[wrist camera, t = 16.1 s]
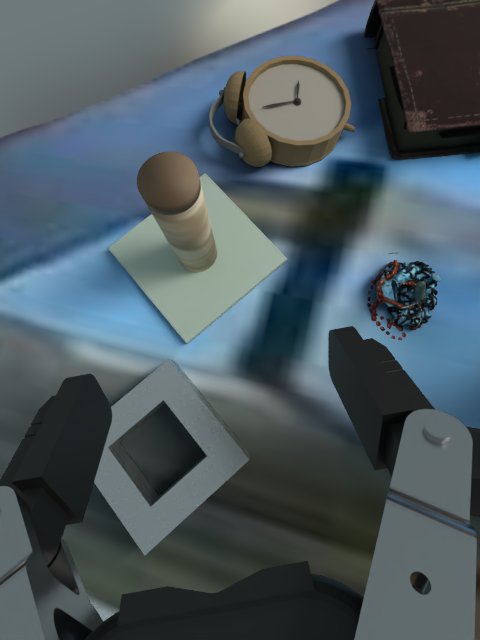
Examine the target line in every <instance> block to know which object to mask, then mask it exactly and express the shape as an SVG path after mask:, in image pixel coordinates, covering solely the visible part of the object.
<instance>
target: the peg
mask: <svg viewBox="0 0 480 640" xmlns="http://www.w3.org/2000/svg"><path fill="white" fill-rule="evenodd" d="M137 186H138V189H139V192H140V194H141V195H142V197H143V199H144V201H145V202H146V204H147V206H148V208H149V209H150V211H151V213H152V215H153V216H154V218H155V220H156V222H157V223H158V225H159V227H160V229H161V230H162V232H163V234H164V236H165V237H166V239H167V241H168V243H169V244H170V246H171V248H172V250H173V251H174V253H175V255H176V257H177V258H178V260H179V262H180V264H181V265H182V266H183V267H184V268H185V269H186V270H188V271H191V272H203V271H205V270H207V269H209V268H210V267H211V266H212V265H213V264H214V262H215V260H216V258H217V249H216V244H215V240H214V236H213V232H212V228H211V224H210V220H209V216H208V211H207V207H206V203H205V199H204V195H203V191H202V187H201V183H200V178H199V174H198V170H197V168H196V166H195V164H194V163H193V161H192V160H191V159H189V158H188V157H187V156H185V155H183V154H180V153H177V152H162V153H159V154H156V155H154V156H152V157H151V158H149V159H148V160H147V161H146V162H145V163H144V164H143V165H142V167H141V168H140V170H139V173H138V176H137Z"/></svg>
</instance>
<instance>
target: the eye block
mask: <svg viewBox="0 0 480 640" xmlns="http://www.w3.org/2000/svg"><path fill="white" fill-rule="evenodd" d="M165 403H166V404H167V405H168V406H169V408H170V409H171V410H172V412H173V413H174V414H175V415H176V417H177V418H178V419H179V421H180V422H181V423H182V424H183V426H184V427H185V428H186V429H187V431H188V432H189V433H190V435H191V436H192V437H193V438H194V440H195V441H196V442H197V444H198V445H199V446H200V447H201V449H202V450H203V451H204V453H205V454H206V455H205V456H204V457H203V458H201V459H200V460H199V461H198V462H197V463H196V464H195V465H194V466H193V467H191V468H190V469H189V470H188V471H187V472H186V473H185V474H184V475H182V476H181V477H180V478H179V479H178V480H177V481H176V482H175V483H174V484H172V485H171V486H170V487H169V488H168V489H167V490H166V491H165V492H163V493H162V494H161V495H160V496H158V494H157V493H156V491H155V490H154V489H153V487H152V486H151V485H150V483H149V482H148V480H147V479H146V478H145V476H144V475H143V474H142V472H141V471H140V470H139V468H138V467H137V465H136V464H135V463H134V461H133V460H132V459H131V457H130V456H129V454H128V453H127V452H126V450H125V449H124V448H123V446H122V445H121V443H120V442H121V441H122V440H123V439H124V438H125V437H126V436H128V435H129V434H130V433H131V432H132V431H133V430H135V429H136V428H137V427H138V426H139V425H140V424H142V423H143V422H144V421H145V420H146V419H147V418H149V417H150V416H151V415H152V414H153V413H154V412H156V411H157V410H158V409H159V408H160V407H161V406H163V405H164V404H165ZM111 409H112V422H111V426H110V429H109V433H108V436H107V439H106V443H105V446H104V450H103V453H102V457H101V460H100V463H99V467H98V470H97V474H96V477H95V480H94V483H95V485H96V486H97V487H98V489H99V490H100V492H101V493H102V495H103V496H104V498H105V499H106V500H107V502H108V503H109V505H110V506H111V508H112V509H113V511H114V512H115V513H116V515H117V516H118V518H119V519H120V521H121V522H122V524H123V525H124V526H125V528H126V529H127V531H128V532H129V534H130V535H131V537H132V538H133V539H134V541H135V542H136V544H137V545H138V547H139V548H140V550H141V551H142V552H143V554H144V555H146V554H147V553H148V552H149V551H150V550H151V549H153V548H154V547H155V546H156V545H157V544H158V543H159V542H160V541H161V540H162V539H164V538H165V537H166V536H167V535H168V534H169V533H170V532H171V531H172V530H173V529H174V528H176V527H177V526H178V525H179V524H180V523H181V522H182V521H183V520H184V519H185V518H186V517H188V516H189V515H190V514H191V513H192V512H193V511H194V510H195V509H196V508H197V507H198V506H200V505H201V504H202V503H203V502H204V501H205V500H206V499H207V498H208V497H209V496H211V495H212V494H213V493H214V492H215V491H216V490H217V489H218V488H219V487H220V486H221V485H223V484H224V483H225V482H226V481H227V480H228V479H229V478H230V477H231V476H232V475H233V474H235V473H236V472H237V471H238V470H239V469H240V468H241V467H242V466H243V465H244V464H245V463H247V462H248V461H249V452H248V451H247V450H246V449H245V447H244V446H243V445H242V444H241V442H240V441H239V440H238V439H237V438H236V436H235V435H234V434H233V433H232V431H231V430H230V429H229V428H228V426H227V425H226V424H225V423H224V421H223V420H222V419H221V418H220V417H219V415H218V414H217V413H216V412H215V410H214V409H213V408H212V407H211V405H210V404H209V403H208V402H207V400H206V399H205V398H204V397H203V395H202V394H201V393H200V392H199V391H198V389H197V388H196V387H195V386H194V384H193V383H192V382H191V381H190V379H189V378H188V377H187V376H186V374H185V373H184V372H183V371H182V370H181V368H180V367H179V366H178V365H177V363H176V362H175V361H172V360H169V359H168V360H167V361H166V362H164V363H163V364H162V365H161V366H160V367H158V368H157V369H156V370H155V371H154V372H153V373H151V374H150V375H149V376H148V377H147V378H145V379H144V380H143V381H142V382H141V383H139V384H138V385H137V386H136V387H135V388H133V389H132V390H131V391H130V392H129V393H127V394H126V395H125V396H124V397H123V398H121V399H120V400H119V401H118V402H117V403H115V404H114V405H113V406H112V407H111Z"/></svg>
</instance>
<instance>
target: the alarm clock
mask: <svg viewBox="0 0 480 640" xmlns="http://www.w3.org/2000/svg"><path fill="white" fill-rule="evenodd" d="M245 83H246V84H245ZM219 95H220V97H219V98H218V99H217V100H216V101H215V102H214V104H213V105H212V106H211V109H210V113H209V123H210V131H211V133H212V135H213V137H214V139H215V140H216V141H217V143H219V144H220V145H221V146H222V147H224V148H226V149H228V150H231V151H233V152H235V153H237V154H239V155H238V156H239V157H240V158H242V159H243V160H244V161H245V162H246V163H247V164H249V165H251V166H253V167H262V166H264V165H266V164H267V163H269V162H270V161H272V162H274V163H277V164H281V165H286V166H291V167H292V166H307V165H310V164H312V163H315V162H318V161H320V160H322V159H323V158H324V157H326V156H327V155H328V154H329V153H330V152H332V151H333V149H334V147H335V145H336V144H337V142H338V140H339V138H340V135H341V133H342V131H343V129H344V130H347V131H352V132H354V130H355V127H354V126H352V125H350V124H348V123H346V122H347V121H348V119H349V116H350V109H351V100H350V95H349V91H348V88H347V87H346V85H345V84H344V82H343V80H342V79H341V77H340V76H339V75H338V74H337V73H335V72H334V71H333V70H332V69H331V68H330V67H328V66H327V65H324V64H322V63H320V62H318V61H316V60H314V59H310V58H306V57H301V56H281V57H278V58H275V59H272V60H269V61H266V62H265V63H263V64H262V65H260V66H259V67H257V68H256V69H255V70H254V71H253V72H252V74H251V75H250V77H249V78H248V79H247V81H246V72H245V71H238V72H235V73H234V74H233V75H232V76H231V77H230V78H229V80H228V82H227V84H226V87H224V90H221V91H220V92H219ZM222 103H224V110H225V114H226V116H227V118H228V119H229V120H230V121H231V122H233V123H236V124H237V126H238V127H237V129H236V133H235V144H234V143H233V142H230V141H228V140H226V139H224V138H223V137H222V136H220V135H219V133H218V132H217V131H216V129H215V127H214V125H213V122H212V119H213V116H214V114H215V112H216V111H217V109H218V108H219V107H220V106H221V105H222ZM242 106H243V110H242V117H241V120H239V119H238V118H237V109H239V108H242Z"/></svg>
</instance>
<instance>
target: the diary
mask: <svg viewBox="0 0 480 640" xmlns="http://www.w3.org/2000/svg"><path fill="white" fill-rule="evenodd" d="M376 36H377V38H376V42H375V48H369V49H378V51H377V54H376V56H377V60H378V65H379V69H380V74H381V78H382V83H383V87H384V92H385V96H386V98H383V99H378V101H379V106H380V111H381V116H382V121H383V126H384V132H385V137H386V140H387V144H388V148H389V152H390V154H391V156H392V157H393V158H395V159H399V160H401V159H414V158H426V157H439V156H449V155H459V154H467V153H476V152H480V0H375V2H374V4H373V7H372V9H371V12H370V15H369V18H368V21H367V25H366V29H365V33H364V37H365V38H366V37H376Z"/></svg>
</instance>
